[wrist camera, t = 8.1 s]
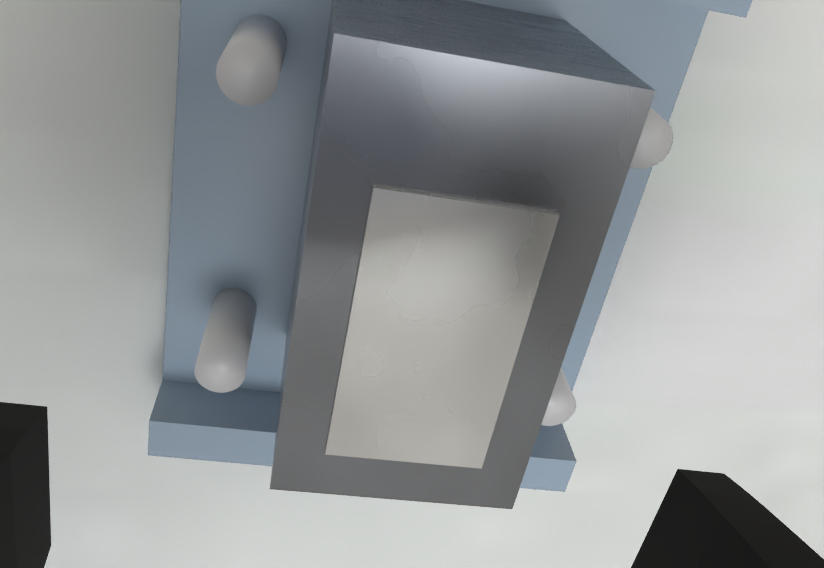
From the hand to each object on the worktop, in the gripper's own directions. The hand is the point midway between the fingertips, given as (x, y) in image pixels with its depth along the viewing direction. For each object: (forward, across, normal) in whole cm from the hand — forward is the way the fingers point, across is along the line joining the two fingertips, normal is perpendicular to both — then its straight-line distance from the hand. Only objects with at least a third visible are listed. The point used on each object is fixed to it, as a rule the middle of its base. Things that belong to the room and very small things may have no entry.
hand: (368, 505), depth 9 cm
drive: (+9, -1, 0) cm, 9 cm away
